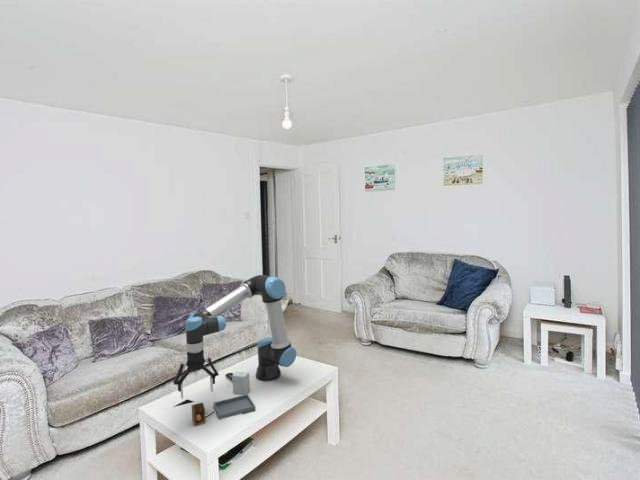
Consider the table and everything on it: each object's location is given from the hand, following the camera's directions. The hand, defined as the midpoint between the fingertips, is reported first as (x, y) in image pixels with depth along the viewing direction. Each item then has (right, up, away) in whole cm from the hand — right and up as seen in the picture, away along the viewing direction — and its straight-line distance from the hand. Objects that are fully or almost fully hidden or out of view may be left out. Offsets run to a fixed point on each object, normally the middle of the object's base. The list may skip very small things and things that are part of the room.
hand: (197, 394), depth 174 cm
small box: (+15, -12, +31) cm, 36 cm away
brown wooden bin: (+1, -14, +1) cm, 14 cm away
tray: (+15, -13, +13) cm, 23 cm away
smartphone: (-14, -14, +15) cm, 25 cm away
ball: (0, -14, +2) cm, 14 cm away
